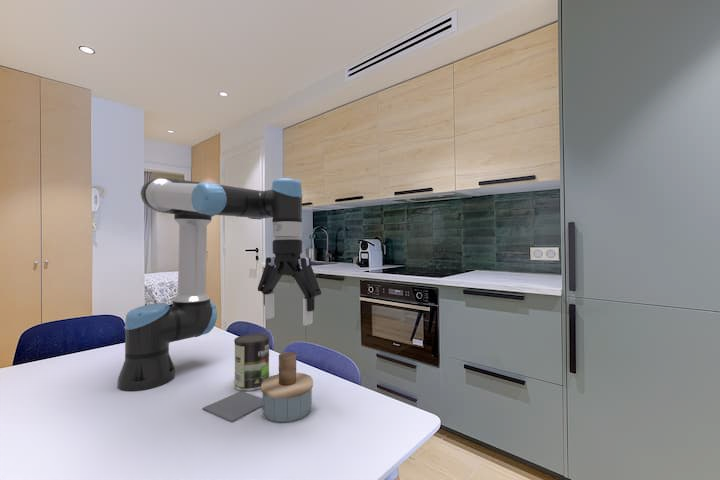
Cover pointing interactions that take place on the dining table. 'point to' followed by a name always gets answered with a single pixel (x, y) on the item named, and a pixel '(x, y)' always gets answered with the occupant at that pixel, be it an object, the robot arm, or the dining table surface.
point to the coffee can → (251, 361)
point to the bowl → (287, 408)
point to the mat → (235, 406)
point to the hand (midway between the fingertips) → (287, 321)
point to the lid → (287, 379)
